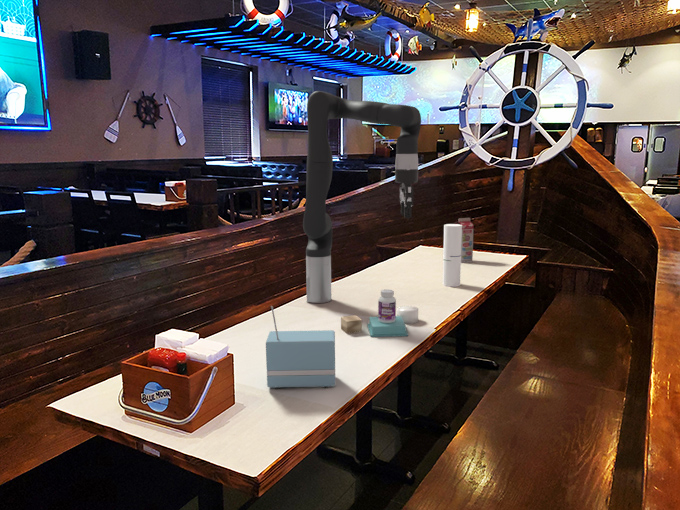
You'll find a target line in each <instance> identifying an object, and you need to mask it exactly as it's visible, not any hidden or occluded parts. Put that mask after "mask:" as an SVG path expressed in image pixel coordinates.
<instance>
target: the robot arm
mask: <svg viewBox="0 0 680 510" xmlns="http://www.w3.org/2000/svg"><path fill="white" fill-rule="evenodd" d="M306 113H307V115H306V116H307V130H308V132H307V157H306V181H305V182H306V186H305V191H306V192H305V195H306V196H305V206H304V212H303V219H302V228H303V232H304V233H305V235H306V236H307V237H308V238H307V239H308V240H307V241H308V242H307V246H306V248H305V266H306V267H305V271H306V272H305V274H306V277H305V279H306V281H305V283H306V302H307V303H313V304H325V303H328V302H331V301H332V254H331V253H332V248H333V247H332V246H333V222H332V218H331V216H330V215H329V214H328V213H327V211H326V203H327V197H328V192H329V190H330V185H331V182H332V178H333V167H334V166H333V164H334V163H333V162H334V160H333V159H334V158H333V153H332V148H331V145H330V141H329V137H328V120H335V119H347V120H348V119H350V120H356V121H360V122H363V123H368V124H369V123H370V124H375V125H377V124H378V125H388V126H392V127H398V128H400V135H399V136H398V137H397V138H396V143H395V144H396V147H395V150H396V151H395V161H394V162H395V163H394V164H395V169H394V171H395V173H394V175H395V176H394V180H395V183H399V184H400V183H401V184H400V185H399V203H400V215H401V216H404V219H411V218H412V213H413V212H412V209H413V206H414V189H415V188H414V186H412V184H413V183H414V184H416V183H418V181H419V157H418V149H419V148H418V147H419V145H418V144H419V143H418V141H419V136H420V130H421V125H422V116H421V115H422V114H421V112H420V110H419V109H418V108H417V107H415V106H413V105H412V106H411V105H407V104H398V103H397V104H396V103H393V104H392V103H388V102H387V103H386V102H380V101H371V100H369V101H368V100H351V99H347V98H343V97H341V96H337V95H335V94H332V93H330V92H326V91H322V90H316V91H313V92H312V93H310V95H309V97H308V99H307V103H306Z"/></svg>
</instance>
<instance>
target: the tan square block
mask: <svg viewBox="0 0 680 510" xmlns="http://www.w3.org/2000/svg"><path fill="white" fill-rule="evenodd" d="M362 321H363V320H362V319H361V318H360V317H359V316H357V315H349V316H340V329H341V330H342V331H343V332H344V333H345V334H347V335H348V334H354V333H355V334H356V333H362V332H363V328H362V327H363V326H362V325H363V322H362Z"/></svg>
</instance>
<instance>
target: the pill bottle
mask: <svg viewBox="0 0 680 510" xmlns="http://www.w3.org/2000/svg"><path fill="white" fill-rule="evenodd" d="M394 295H395V292H394V289H388V288H387V289H381V290H380V296H379V298H378V299H377V300H378V301H377V302H378V310H377V311H378V312H377V314H378V315H377V317H378V320H379V322H381V323H393V322H395V319H396V316H397V308H396V307H397V298H396V297H395V296H394Z"/></svg>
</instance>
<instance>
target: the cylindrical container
mask: <svg viewBox="0 0 680 510" xmlns="http://www.w3.org/2000/svg"><path fill="white" fill-rule="evenodd" d="M461 239H462V225H459V224H456V223H446V224H443V250H442V251H443V253H442V254H443V256H442V257H443V258H442V260H443V261H442V286H444V287H450V288H456V287H460V286H461V273H462V272H461V269H462V268H461V266H462V263H461Z"/></svg>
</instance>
